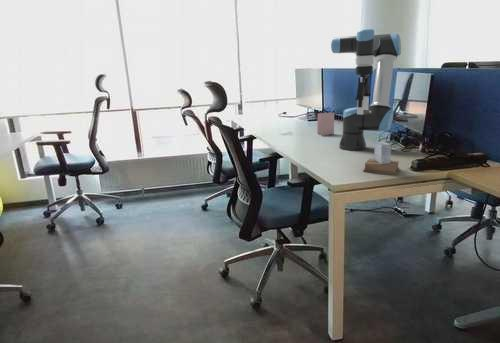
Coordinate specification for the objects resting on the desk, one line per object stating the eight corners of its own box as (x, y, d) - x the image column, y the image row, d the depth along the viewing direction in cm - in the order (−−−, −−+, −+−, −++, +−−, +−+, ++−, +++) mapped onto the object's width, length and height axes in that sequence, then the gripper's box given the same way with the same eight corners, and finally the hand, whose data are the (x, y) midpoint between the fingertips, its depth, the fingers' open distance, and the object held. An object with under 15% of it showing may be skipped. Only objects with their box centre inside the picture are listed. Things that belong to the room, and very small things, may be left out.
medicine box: (390, 163, 166) (391, 144, 164) (380, 164, 166) (381, 145, 163) (382, 159, 173) (384, 141, 171) (373, 160, 173) (374, 141, 171)
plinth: (368, 166, 178) (368, 158, 177) (399, 169, 171) (399, 160, 170) (363, 171, 170) (363, 163, 169) (396, 174, 163) (396, 166, 162)
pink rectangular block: (333, 134, 264) (334, 112, 260) (335, 135, 257) (335, 114, 253) (317, 134, 265) (317, 113, 261) (318, 136, 258) (318, 114, 254)
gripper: (361, 64, 183) (359, 108, 189) (350, 67, 162) (349, 116, 168) (377, 64, 180) (375, 108, 186) (368, 66, 158) (366, 116, 165)
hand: (362, 112), depth 177 cm, fingers open, 13 cm apart
